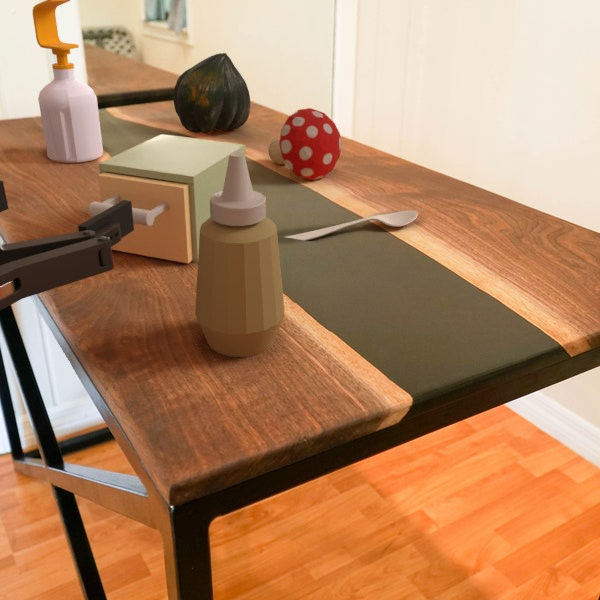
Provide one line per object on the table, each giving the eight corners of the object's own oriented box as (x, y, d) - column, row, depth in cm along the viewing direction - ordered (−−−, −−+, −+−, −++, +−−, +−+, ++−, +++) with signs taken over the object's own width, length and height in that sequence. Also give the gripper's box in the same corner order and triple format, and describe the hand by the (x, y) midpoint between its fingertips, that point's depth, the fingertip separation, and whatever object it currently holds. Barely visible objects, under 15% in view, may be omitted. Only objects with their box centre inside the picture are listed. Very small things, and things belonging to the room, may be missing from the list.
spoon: (424, 227, 88) (425, 215, 87) (281, 250, 80) (281, 237, 79) (407, 216, 91) (408, 205, 90) (269, 237, 83) (269, 225, 82)
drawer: (166, 282, 70) (160, 202, 65) (81, 265, 73) (70, 188, 68) (234, 224, 84) (233, 156, 80) (161, 212, 87) (156, 146, 83)
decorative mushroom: (258, 107, 109) (309, 89, 97) (309, 137, 115) (363, 124, 103) (237, 168, 108) (287, 158, 95) (289, 195, 114) (343, 189, 102)
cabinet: (198, 268, 75) (193, 176, 70) (109, 251, 78) (98, 163, 73) (246, 225, 86) (245, 144, 81) (167, 212, 90) (161, 133, 85)
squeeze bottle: (276, 319, 65) (277, 139, 57) (292, 364, 58) (297, 167, 50) (193, 326, 64) (182, 142, 55) (200, 374, 57) (189, 172, 48)
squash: (146, 102, 124) (190, 43, 116) (187, 92, 136) (230, 38, 128) (196, 160, 125) (244, 105, 117) (233, 144, 137) (278, 93, 129)
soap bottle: (75, 167, 106) (51, 0, 94) (36, 158, 110) (8, -3, 98) (114, 154, 113) (97, -3, 101) (76, 146, 117) (55, -6, 105)
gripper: (-262, 324, 47) (-38, 223, 65) (25, 401, 40) (189, 264, 58) (-305, 227, 44) (-55, 147, 61) (1, 293, 37) (184, 182, 54)
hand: (64, 204), depth 60 cm, fingers open, 13 cm apart
